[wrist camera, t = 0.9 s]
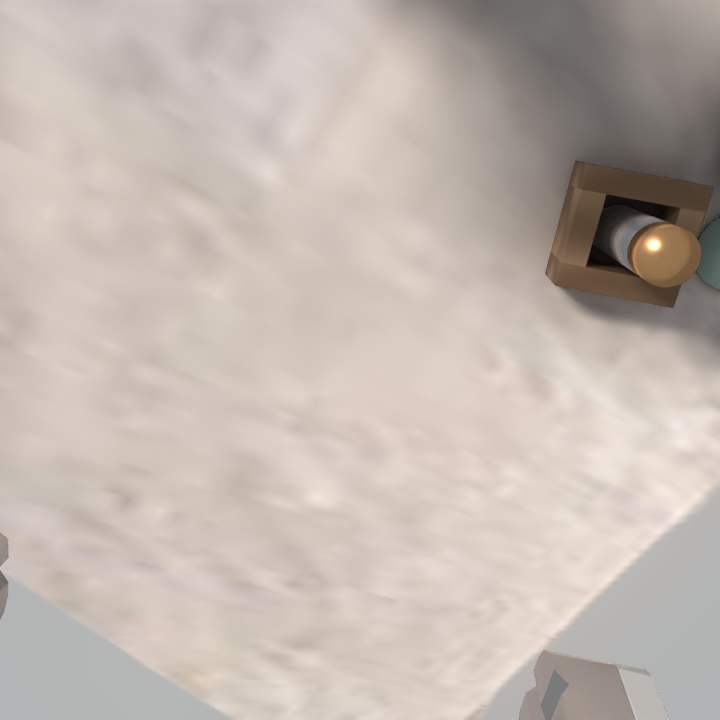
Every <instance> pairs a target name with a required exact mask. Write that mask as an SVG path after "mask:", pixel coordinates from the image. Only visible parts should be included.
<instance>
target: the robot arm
mask: <svg viewBox="0 0 720 720" xmlns="http://www.w3.org/2000/svg"><path fill="white" fill-rule="evenodd" d="M8 558H9V557H8V539H7V538H6V537H5V536H4V535H3V534H2V533H0V566H1V565H2V564H3V563H4V562H5V561H6V560H7V559H8ZM7 597H8V581H7V580H6V578H5V577H4V575H3V574H2V572H1V571H0V619H1V617H2V615H3V613H4V610H5V606H6V601H7ZM534 674H535V679H536V684H537V686H536V687H534V688H533V689H531V690H530V691H528V692H527V693H526V694H525V696H524V700H523V703H522V706H521V709H520V714H519V720H670V719H669V716H668V714H667V711H666V709H665V707H664V704H663V702H662V700H661V697H660V695H659V692H658V690H657V688H656V685H655V683H654V681H653V678H652V676H651V675H650V673H649V672H648V671H646V670H645V669H641V668H636V667H631V666H625V665H620V664H615V663H611V664H609V663H605V662H601V661H596V660H591V659H586V658H581V657H577V656H571V655H567V654H562V653H557V652H552V651H548V650H543V652H542V653H541V654H540V656H539V657H538V660H537V663H536V665H535V668H534Z"/></svg>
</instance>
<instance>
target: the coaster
mask: <svg viewBox="0 0 720 720" xmlns="http://www.w3.org/2000/svg"><path fill="white" fill-rule="evenodd" d="M698 242H699V244H700V248H701V259H700V263H699V265H698V267H697V269H696V271H697V273H698V275H699V276H700V278H701V279H702V280H703V281H704V282H705V283H707V284H708V285H710V286H711V287H713V288H715V289H718V290H720V217H719V218H717V219H715V220H714V221H712V222H711V223H710V224H709V225H708V226H707V227H706V228H705V229H704V230H703V232H702V233H701V234H700V236H699V238H698Z"/></svg>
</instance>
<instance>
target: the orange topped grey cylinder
mask: <svg viewBox="0 0 720 720" xmlns="http://www.w3.org/2000/svg"><path fill="white" fill-rule="evenodd" d="M593 242H594V244H595V245H596V246H597V247H598V248H599V249H600V250H602V251H603V252H605V253H606V254H608V255H609V256H611V257H612V258H614V259H615V260H616V261H618V262H619V263H621V264H622V265H624V266H625V267H627V268H628V269H630V270H631V271H633V272H634V273H636V274H637V275H638V276H640V277H641V278H643V279H644V280H646V281H647V282H649V283H650V284H652V285H655V286H658V287H673V286H676V285H679V284H681V283H683V282H685V281H686V280H687V279H689V278H690V277H691V276H692V275H693V274H694V272H695V271H696V269H697V267H698V265H699V263H700V259H701V248H700V244H699V242H698V240H697V238H696V237H695V236H694V235H693V234H692V233H691V232H690V231H688V230H686V229H684V228H681V227H679V226H676V225H674V224H671V223H668V222H666V221H663V220H661V219H658V218H656V217H653V216H650V215H648V214H645V213H643V212H640V211H638V210H635V209H632V208H630V207H627V206H624V205H613V206H609V207H607V208H605V209H603V210H602V212H601V215H600V219H599V222H598V226H597V229H596V233H595V236H594V240H593Z"/></svg>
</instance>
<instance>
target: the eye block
mask: <svg viewBox="0 0 720 720" xmlns="http://www.w3.org/2000/svg"><path fill="white" fill-rule="evenodd" d="M713 189H714V187H710V186H705V185H700V184H696V183H691V182H686V181H680V180H675V179H669V178H664V177H659V176H653V175H648V174H642V173H637V172H632V171H626V170H621V169H615V168H610V167H605V166H599V165H594V164H589V163H583V162H578V161H575V165H574V168H573V172H572V176H571V179H570V183H569V187H568V191H567V194H566V198H565V202H564V205H563V209H562V213H561V217H560V220H559V224H558V228H557V231H556V235H555V239H554V242H553V246H552V250H551V254H550V257H549V261H548V265H547V268H546V272H545V274H546V275H547V276H548V278H549V279H550V280H551V281H552V282H553V283H554V285H555V286H560V287H565V288H570V289H576V290H581V291H586V292H592V293H597V294H602V295H607V296H613V297H618V298H623V299H628V300H634V301H639V302H644V303H650V304H655V305H660V306H665V307H671V308H673V307H674V304H675V301H676V298H677V295H678V292H679V289H680V286H681V284H682V283H681V284H679V285H676V286H673V287H658V286H655V285H652V284H650V283H649V282H647V281H646V280H644V279H643V278H641V277H640V276H638V275H637V274H636V273H634V272H633V271H631V270H630V269H628V268H627V267H625V266H622V265H617V264H612V263H606V262H601V261H596V260H590V259H588V257H589V253H590V250H591V246H592V243H593V240H594V236H595V233H596V229H597V226H598V222H599V219H600V215H601V212H602V208H603V205H604V201H605V198H606V195H607V194H608V195H614V196H619V197H624V198H630V199H635V200H640V201H646V202H651V203H656V204H659V207H658V210H657V213H656V216H655V217H656V218H658V219H661V220H663V221H666V222H668V223H671V224H674V225H676V226H679V227H681V228H684V229H686V230H688V231H690V232H691V233H692V234H693V235H694V236H695V237H696V238H697V236H698V233H699V231H700V228H701V225H702V222H703V219H704V216H705V213H706V210H707V207H708V204H709V201H710V198H711V195H712V192H713Z"/></svg>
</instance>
